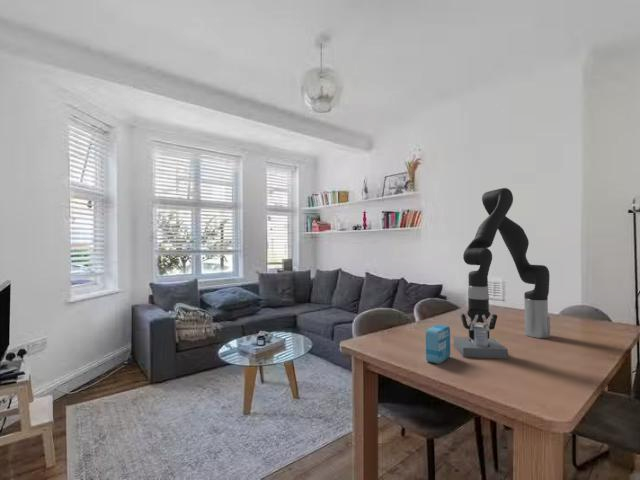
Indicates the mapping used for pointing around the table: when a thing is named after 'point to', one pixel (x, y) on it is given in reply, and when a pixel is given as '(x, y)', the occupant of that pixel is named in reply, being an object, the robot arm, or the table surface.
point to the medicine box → (480, 336)
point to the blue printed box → (437, 344)
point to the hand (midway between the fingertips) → (478, 339)
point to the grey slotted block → (480, 348)
